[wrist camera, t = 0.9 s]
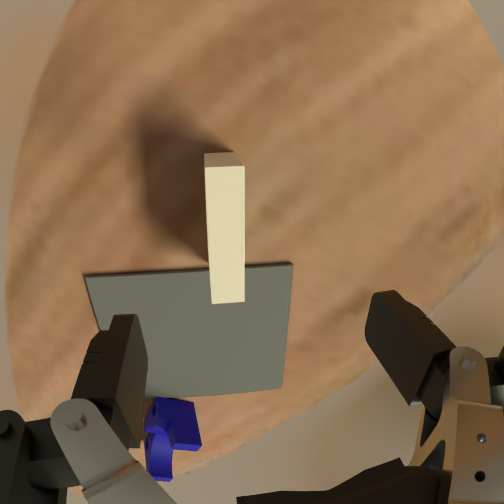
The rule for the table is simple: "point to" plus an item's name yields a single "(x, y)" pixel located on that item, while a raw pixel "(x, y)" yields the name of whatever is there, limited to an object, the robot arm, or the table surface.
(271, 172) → the table surface
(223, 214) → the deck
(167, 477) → the blue u-shaped bracket
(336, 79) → the table surface
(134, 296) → the mat
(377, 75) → the table surface
